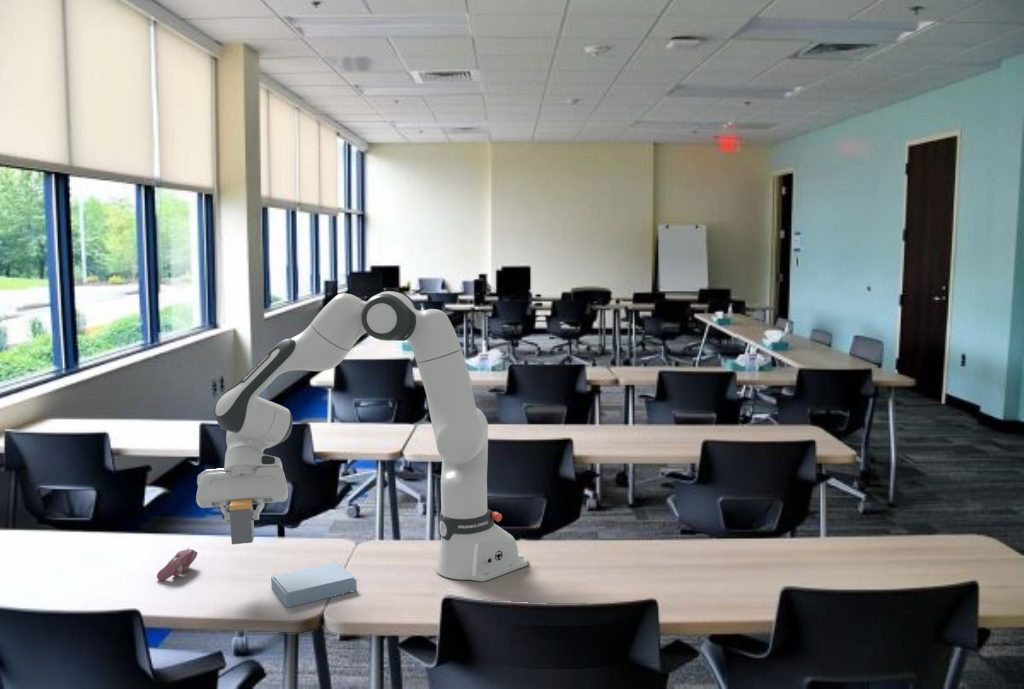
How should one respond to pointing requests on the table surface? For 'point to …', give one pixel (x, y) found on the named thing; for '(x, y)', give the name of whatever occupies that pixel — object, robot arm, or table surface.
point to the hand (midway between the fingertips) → (241, 520)
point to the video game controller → (177, 564)
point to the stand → (312, 584)
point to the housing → (241, 521)
